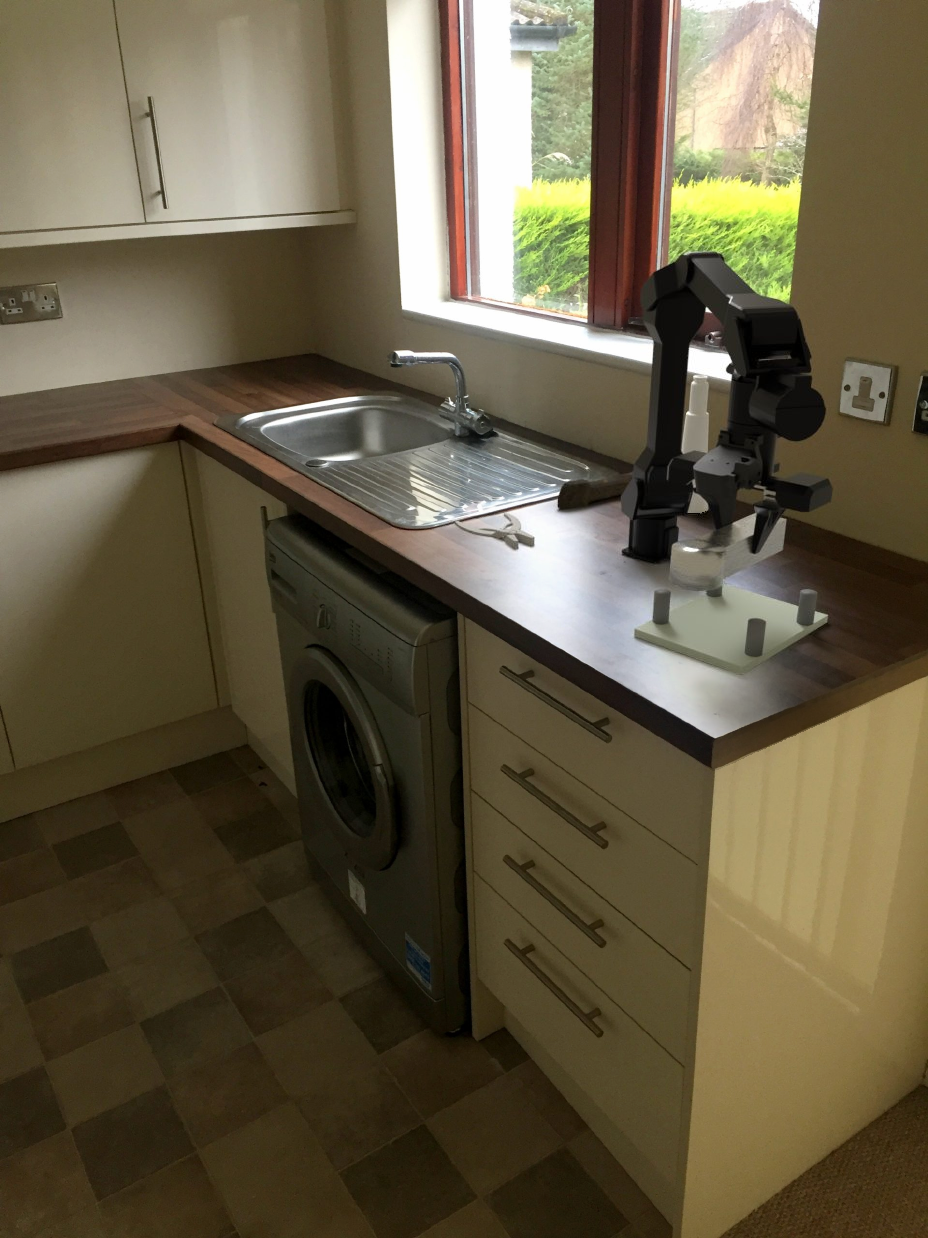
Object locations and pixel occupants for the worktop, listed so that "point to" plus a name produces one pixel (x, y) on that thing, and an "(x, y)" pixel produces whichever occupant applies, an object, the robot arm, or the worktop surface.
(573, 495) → the hand tool
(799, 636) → the peg board
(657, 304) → the robot arm
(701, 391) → the cosmetic bottle
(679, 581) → the round-ended glossy bar
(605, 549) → the worktop surface
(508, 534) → the pliers
